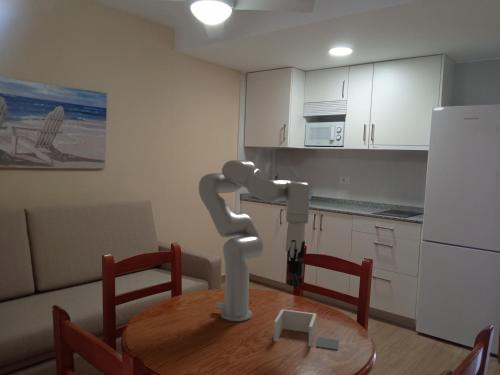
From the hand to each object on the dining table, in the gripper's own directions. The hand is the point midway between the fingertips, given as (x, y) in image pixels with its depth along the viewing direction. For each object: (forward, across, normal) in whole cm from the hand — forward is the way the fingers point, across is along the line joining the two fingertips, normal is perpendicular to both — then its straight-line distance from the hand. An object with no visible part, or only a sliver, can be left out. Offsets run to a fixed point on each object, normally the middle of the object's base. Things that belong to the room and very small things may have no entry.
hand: (294, 269), depth 135 cm
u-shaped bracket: (+25, -1, +1) cm, 25 cm away
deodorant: (+5, 0, 0) cm, 5 cm away
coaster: (+25, 0, +12) cm, 28 cm away
